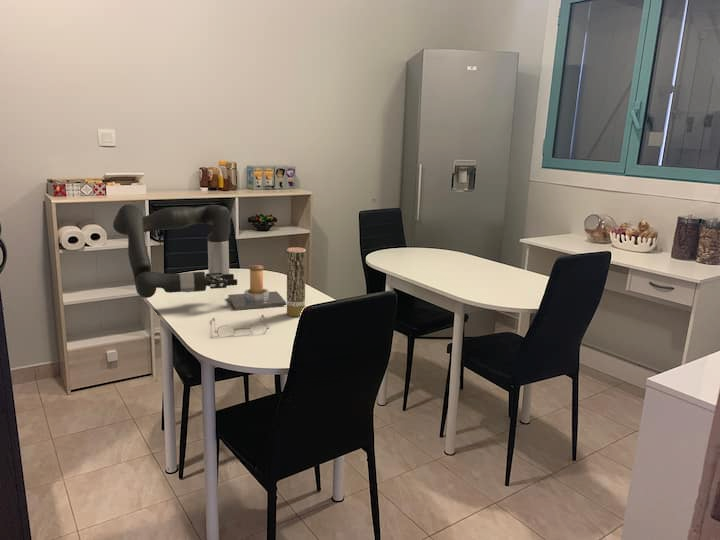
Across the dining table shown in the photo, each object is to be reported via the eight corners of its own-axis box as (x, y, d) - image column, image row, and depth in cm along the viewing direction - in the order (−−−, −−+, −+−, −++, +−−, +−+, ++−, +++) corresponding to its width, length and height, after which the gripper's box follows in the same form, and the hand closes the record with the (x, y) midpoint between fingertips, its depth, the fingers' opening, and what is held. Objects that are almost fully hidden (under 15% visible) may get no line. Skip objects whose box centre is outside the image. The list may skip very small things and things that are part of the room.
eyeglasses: (214, 338, 187) (214, 326, 186) (212, 321, 205) (212, 310, 204) (269, 334, 192) (269, 323, 191) (262, 318, 210) (262, 307, 209)
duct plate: (228, 298, 229) (228, 287, 228) (276, 294, 236) (276, 284, 235) (234, 310, 215) (234, 298, 214) (286, 305, 222) (286, 294, 221)
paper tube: (297, 310, 217) (297, 246, 211) (308, 314, 212) (309, 249, 206) (283, 313, 212) (283, 248, 206) (294, 318, 208) (294, 252, 202)
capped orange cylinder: (248, 297, 227) (248, 265, 224) (261, 296, 228) (261, 264, 226) (251, 300, 222) (250, 268, 219) (264, 299, 224) (264, 267, 221)
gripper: (193, 277, 207) (238, 274, 213) (190, 268, 220) (232, 265, 226) (194, 296, 209) (238, 293, 215) (190, 286, 222) (232, 283, 227)
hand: (235, 279), depth 220 cm, fingers open, 8 cm apart
